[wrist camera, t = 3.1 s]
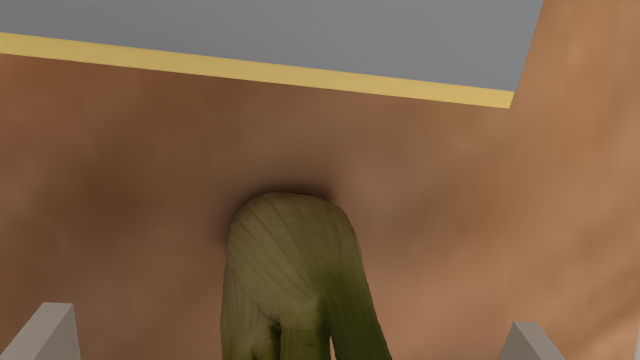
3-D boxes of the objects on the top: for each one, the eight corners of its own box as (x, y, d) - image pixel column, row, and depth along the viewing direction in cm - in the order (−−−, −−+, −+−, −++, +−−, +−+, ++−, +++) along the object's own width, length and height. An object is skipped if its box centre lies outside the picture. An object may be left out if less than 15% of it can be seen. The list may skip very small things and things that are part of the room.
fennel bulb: (336, 167, 18) (423, 401, 7) (352, 255, 20) (440, 542, 9) (211, 194, 18) (114, 471, 7) (240, 279, 20) (197, 598, 9)
